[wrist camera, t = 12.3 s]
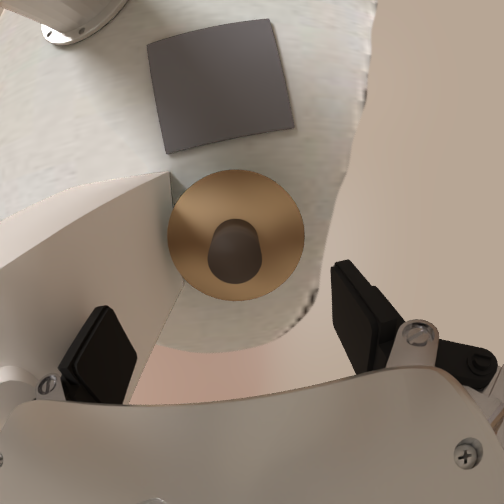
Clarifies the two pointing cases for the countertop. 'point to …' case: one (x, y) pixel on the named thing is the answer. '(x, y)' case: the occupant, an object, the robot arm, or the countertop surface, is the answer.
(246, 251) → the lid
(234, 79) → the mat
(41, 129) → the countertop surface
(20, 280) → the milk
